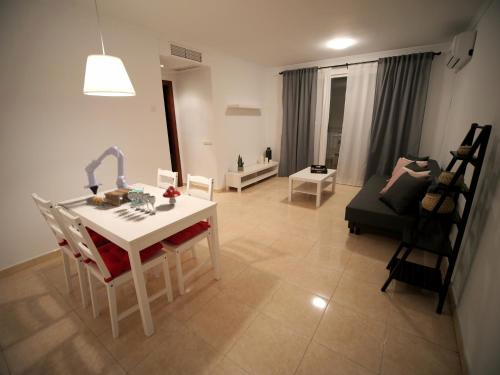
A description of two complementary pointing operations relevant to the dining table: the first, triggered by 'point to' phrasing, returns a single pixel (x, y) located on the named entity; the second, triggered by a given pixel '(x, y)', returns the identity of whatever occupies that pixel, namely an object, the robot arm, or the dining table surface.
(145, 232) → the dining table surface
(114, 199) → the brown boxy piece
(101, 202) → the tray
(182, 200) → the dining table surface
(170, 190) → the decorative mushroom
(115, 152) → the robot arm
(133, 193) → the goblet set
